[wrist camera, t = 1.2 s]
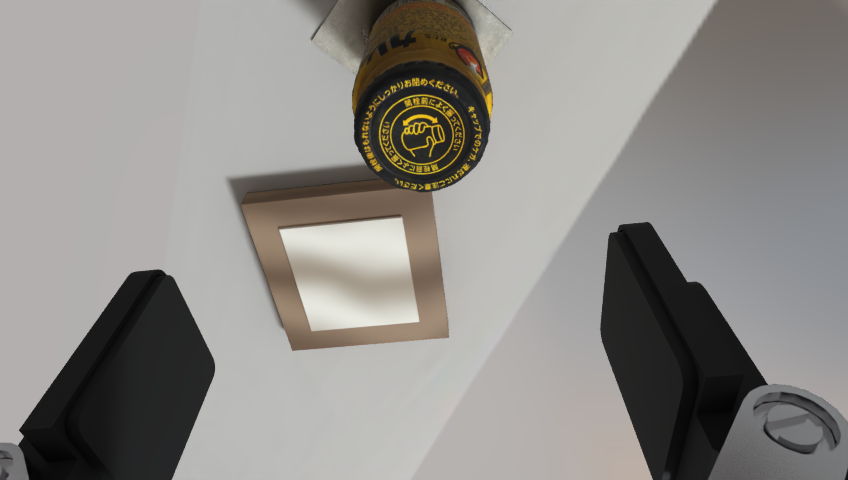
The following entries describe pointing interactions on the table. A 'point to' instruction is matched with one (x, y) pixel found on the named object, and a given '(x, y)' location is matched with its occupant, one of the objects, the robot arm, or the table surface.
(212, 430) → the table surface
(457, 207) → the table surface
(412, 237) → the picture frame
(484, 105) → the condiment
